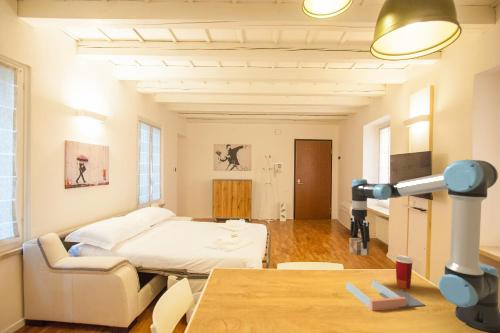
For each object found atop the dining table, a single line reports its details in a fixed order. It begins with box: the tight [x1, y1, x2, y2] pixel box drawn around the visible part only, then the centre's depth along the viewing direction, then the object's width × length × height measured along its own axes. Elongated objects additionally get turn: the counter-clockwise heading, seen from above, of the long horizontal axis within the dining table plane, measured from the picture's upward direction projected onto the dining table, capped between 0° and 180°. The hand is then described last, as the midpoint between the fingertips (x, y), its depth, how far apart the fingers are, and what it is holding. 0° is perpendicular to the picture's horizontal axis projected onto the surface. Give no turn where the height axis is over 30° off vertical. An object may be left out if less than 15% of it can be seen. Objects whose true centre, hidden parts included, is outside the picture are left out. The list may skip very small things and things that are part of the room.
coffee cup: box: [394, 255, 414, 290], centre depth 142 cm, size 8×8×15 cm
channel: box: [345, 280, 406, 312], centre depth 130 cm, size 22×16×4 cm
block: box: [348, 237, 370, 256], centre depth 145 cm, size 7×7×7 cm
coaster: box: [379, 290, 425, 309], centre depth 128 cm, size 13×13×1 cm
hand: (359, 252), depth 145 cm, fingers closed on block, 7 cm apart
